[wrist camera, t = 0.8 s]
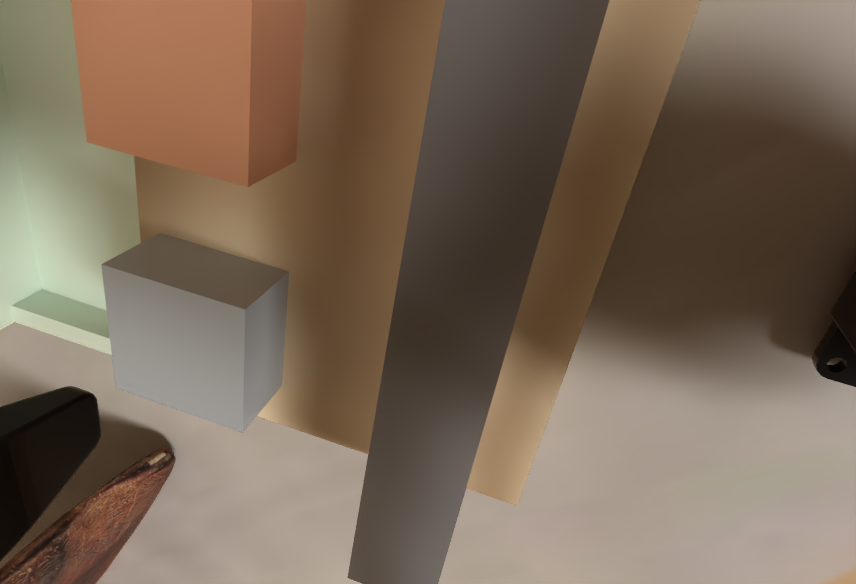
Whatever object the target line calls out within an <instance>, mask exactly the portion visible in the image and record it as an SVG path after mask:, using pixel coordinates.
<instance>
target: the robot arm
mask: <svg viewBox="0 0 856 584" xmlns="http://www.w3.org/2000/svg"><path fill="white" fill-rule="evenodd" d="M831 314H832V317H833V319H834V321H833V322H832V324H831V326H830V327H829V329H828V331H827V332H826V334H825V335H824V337H823V339H822V340H821V342H820V344H819V345H818V347H817V348H816V350H815V352H814V354H813V357H812V360H813V364H814V366H815V368H816V370H817V371H818V372H819V374H820V375H821V376H823V377H825V378H827V379H830V380H834V381H837V382H841V383H844V384H848V385H851V386H855V387H856V272H855V274H854V275H853V277H852V279H851V280H850V282H849V283H848V285H847V287H846V288H845V290H844V292H843V293H842V295H841V297H840V298H839V300H838V302H837V303H836V305H835V307H834V308H833V310H832V312H831ZM835 357H837V358H842V360H841V361H840V362H839V363H838V364H834V365H827V362H828V361H829V360H830V359H832V358H835ZM100 437H101V424H100V417H99V410H98V404H97V399H96V397H95V396H94V394H92V393H90V392H88V391H85V390H82V389H79V388H77V387H72V386H68V387H63V388H60V389H56V390H53V391H50V392H47V393H44V394H40V395H37V396H34V397H31V398H27V399H24V400H21V401H18V402H15V403H11V404H8V405H5V406H2V407H0V561H1V560H2V559H3V558H4V557H5V556H6V555H7V554H8V553H9V552H10V551H11V549H12V548H13V547H14V546H15V545H16V544H17V543H18V542H19V541H20V540H21V539H22V538H23V537H24V535H25V534H26V533H27V532H28V531H29V530H30V529H31V528H32V526H33V525H34V524H35V523H36V522H37V520H38V519H39V518H40V517H41V516H42V514H43V513H44V512H45V511H46V509H47V508H48V507H49V506H50V504H51V503H52V502H53V500H54V499H55V498H56V497H57V495H58V494H59V493H60V492H61V490H62V489H63V488H64V486H65V485H66V484H67V483H68V481H69V480H70V479H71V478H72V476H73V475H74V474H75V473H76V471H77V470H78V469H79V467H80V466H81V465H82V464H83V462H84V461H85V460H86V459H87V457H88V456H89V455H90V454H91V452H92V451H93V450H94V448H95V447H96V446H97V444H98V442H99V440H100Z"/></svg>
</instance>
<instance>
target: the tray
mask: <svg viewBox="0 0 856 584" xmlns="http://www.w3.org/2000/svg"><path fill="white" fill-rule="evenodd" d="M140 243H141V241H140V228H139V215H138V202H137V189H136V176H135V163H134V155H131V154H127V153H123V152H120V151H116V150H113V149H109V148H106V147H102V146H98V145H95V144H91V143H88V142H87V138H86V130H85V121H84V112H83V104H82V95H81V87H80V78H79V70H78V61H77V53H76V44H75V35H74V27H73V18H72V10H71V1H70V0H0V330H1V329H3V328H5V327H6V326H8V325H10V324H12V323H14V322H16V323H19V324H22V325H25V326H28V327H31V328H34V329H37V330H40V331H42V332H45V333H48V334H51V335H54V336H57V337H60V338H63V339H66V340H69V341H72V342H75V343H78V344H80V345H83V346H86V347H89V348H92V349H95V350H98V351H101V352H104V353H107V354H110V355H112V352H111V344H110V335H109V326H108V318H107V309H106V301H105V292H104V284H103V275H102V267H101V264H103V263H105V262H106V261H108V260H110V259H112V258H114V257H116V256H118V255H120V254H121V253H123V252H125V251H127V250H129V249H131V248H133V247H134V246H136V245H138V244H140Z"/></svg>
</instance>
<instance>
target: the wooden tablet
mask: <svg viewBox="0 0 856 584" xmlns="http://www.w3.org/2000/svg"><path fill="white" fill-rule="evenodd" d="M174 463H175V456H174V453H173V452H172V451H171V450H169V449H167V448H161V449H159V450H157V451H155V452H153V453H152V454H150V455H148V456H147V457H145V458H143V459H142V460H140V461H138V462H136V463H135V464H134V465H132V466H131V467H129V468H128V469H126V470H125V471H123V472H122V473H120V474H119V475H117V476H116V477H115V478H113V479H112V480H111V481H109V482H108V483H107V484H106V485H104V486H103V487H102V488H101V489H99V490H98V491H97V492H95V493H94V494H93V495H91V496H90V497H88V498H87V499H85V500H84V501H82V502H81V503H80V504H78V505H77V506H76V507H74V508H73V509H72V510H70V511H69V512H67V513H66V514H64V515H63V516H62V517H60V518H59V519H58V520H57V521H55V522H54V523H53V524H52V525H51V526H50V527H48V528H47V529H46V530H45V531H44V532H43V533H41V534H40V535H39V536H38V537H37V538H36V539H35V540H33V541H32V542H31V543H30V544H29V545H28V546H26V547H25V548H24V549H23V550H22V551H20V552H19V553H18V554H17V555H16V556H15V557H13V558H12V559H11V560H10V561H9V562H8V563H7V564H5V565H4V566H3V567H2V568H1V569H0V584H96V583H97V581H98V580H99V579H100V578H101V576H102V575H103V574H104V573H105V571H106V570H107V569H108V567H109V566H110V565H111V563H112V562H113V560H114V559H115V557H116V556H117V555H118V553H119V552H120V550H121V549H122V547H123V546H124V544H125V543H126V542H127V540H128V539H129V537H130V536H131V535H132V533H133V532H134V531H135V529H136V528H137V526H138V525H139V523H140V522H141V520H142V519H143V517H144V516H145V514H146V513H147V511H148V509H149V508H150V506H151V505H152V503H153V501H154V500H155V498H156V497H157V495H158V493H159V491H160V490H161V488H162V486H163V485H164V483H165V481H166V480H167V478H168V476H169V475H170V473H171V471H172V469H173V466H174Z"/></svg>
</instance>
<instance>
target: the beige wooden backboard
mask: <svg viewBox="0 0 856 584" xmlns="http://www.w3.org/2000/svg"><path fill="white" fill-rule="evenodd" d="M700 2H701V0H610V1H609V4H608V8H607V11H606V14H605V18H604V21H603V25H602V28H601V31H600V35H599V38H598V42H597V45H596V48H595V52H594V55H593V58H592V62H591V65H590V69H589V72H588V75H587V79H586V82H585V86H584V89H583V92H582V96H581V99H580V103H579V106H578V109H577V113H576V116H575V120H574V123H573V126H572V130H571V133H570V137H569V140H568V143H567V147H566V150H565V154H564V157H563V160H562V164H561V167H560V171H559V174H558V177H557V181H556V184H555V188H554V191H553V194H552V198H551V201H550V205H549V208H548V211H547V215H546V218H545V222H544V225H543V228H542V232H541V235H540V239H539V242H538V245H537V249H536V252H535V256H534V259H533V262H532V266H531V269H530V273H529V276H528V279H527V283H526V286H525V290H524V293H523V296H522V300H521V303H520V307H519V310H518V313H517V317H516V320H515V324H514V327H513V330H512V334H511V337H510V341H509V344H508V347H507V351H506V354H505V358H504V361H503V364H502V368H501V371H500V375H499V378H498V381H497V385H496V388H495V392H494V395H493V398H492V402H491V405H490V408H489V412H488V415H487V419H486V422H485V425H484V429H483V432H482V436H481V439H480V442H479V446H478V449H477V453H476V456H475V459H474V463H473V466H472V470H471V473H470V476H469V480H468V483H467V487H466V488H467V489H470V490H473V491H476V492H479V493H482V494H484V495H487V496H490V497H493V498H496V499H499V500H502V501H505V502H508V503H511V504H513V505H516V506H517V504H518V502H519V499H520V496H521V493H522V491H523V488H524V485H525V482H526V480H527V477H528V474H529V471H530V469H531V466H532V463H533V460H534V458H535V455H536V452H537V449H538V447H539V444H540V441H541V438H542V436H543V433H544V430H545V427H546V425H547V422H548V419H549V416H550V414H551V411H552V408H553V405H554V403H555V400H556V397H557V394H558V392H559V389H560V386H561V384H562V381H563V378H564V375H565V373H566V370H567V367H568V364H569V362H570V359H571V356H572V353H573V351H574V348H575V345H576V342H577V340H578V337H579V334H580V331H581V329H582V326H583V323H584V320H585V318H586V315H587V312H588V309H589V307H590V304H591V301H592V298H593V296H594V293H595V290H596V287H597V285H598V282H599V279H600V276H601V274H602V271H603V268H604V265H605V263H606V260H607V257H608V254H609V252H610V249H611V246H612V243H613V241H614V238H615V235H616V232H617V230H618V227H619V224H620V221H621V219H622V216H623V213H624V210H625V208H626V205H627V202H628V199H629V197H630V194H631V191H632V188H633V186H634V183H635V180H636V177H637V175H638V172H639V169H640V166H641V164H642V161H643V158H644V155H645V153H646V150H647V147H648V144H649V142H650V139H651V136H652V133H653V131H654V128H655V125H656V122H657V120H658V117H659V114H660V111H661V109H662V106H663V103H664V100H665V98H666V95H667V92H668V89H669V87H670V84H671V81H672V79H673V76H674V73H675V70H676V68H677V65H678V62H679V59H680V57H681V54H682V51H683V48H684V46H685V43H686V40H687V37H688V35H689V32H690V29H691V26H692V24H693V21H694V18H695V15H696V13H697V10H698V7H699V4H700ZM444 4H445V0H306V12H305V28H304V44H303V60H302V76H301V92H300V107H299V123H298V139H297V155H296V162H294V163H292V164H290V165H288V166H287V167H285V168H283V169H281V170H279V171H277V172H275V173H274V174H272V175H270V176H268V177H266V178H264V179H262V180H261V181H259V182H257V183H255V184H253V185H251V186H249V187H245V186H242V185H238V184H234V183H231V182H227V181H224V180H220V179H217V178H213V177H209V176H206V175H202V174H199V173H195V172H192V171H188V170H184V169H181V168H177V167H174V166H170V165H166V164H163V163H159V162H156V161H152V160H149V159H145V158H141V157H138V156H134V163H135V176H136V189H137V202H138V215H139V228H140V241H141V243H142V242H144V241H146V240H148V239H149V238H151V237H153V236H155V235H157V234H159V233H162V234H165V235H169V236H172V237H175V238H179V239H182V240H185V241H189V242H192V243H195V244H199V245H202V246H205V247H209V248H212V249H215V250H219V251H222V252H225V253H229V254H232V255H235V256H239V257H242V258H245V259H249V260H252V261H255V262H259V263H262V264H265V265H269V266H272V267H275V268H279V269H282V270H285V271H289V282H288V298H287V314H286V330H285V346H284V361H283V377H282V386H281V388H280V389H279V390H278V391H277V392H276V394H275V395H274V396H273V397H272V398H271V400H270V401H269V402H268V403H267V404H266V405H265V407H264V408H263V409H262V410H261V411H260V413H259V414H258V415H257V416H259V417H262V418H264V419H267V420H270V421H273V422H276V423H279V424H282V425H285V426H288V427H290V428H293V429H296V430H299V431H302V432H305V433H308V434H311V435H314V436H317V437H319V438H322V439H325V440H328V441H331V442H334V443H337V444H340V445H343V446H345V447H348V448H351V449H354V450H357V451H360V452H363V453H366V454H369V448H370V442H371V437H372V431H373V425H374V419H375V413H376V407H377V401H378V395H379V389H380V383H381V377H382V371H383V365H384V360H385V354H386V348H387V342H388V336H389V330H390V324H391V318H392V312H393V306H394V300H395V294H396V288H397V283H398V277H399V271H400V265H401V259H402V253H403V247H404V241H405V235H406V229H407V223H408V217H409V212H410V206H411V200H412V194H413V188H414V182H415V176H416V170H417V164H418V158H419V152H420V146H421V140H422V135H423V129H424V123H425V117H426V111H427V105H428V99H429V93H430V87H431V81H432V75H433V69H434V64H435V58H436V52H437V46H438V40H439V34H440V28H441V22H442V16H443V10H444Z"/></svg>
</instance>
